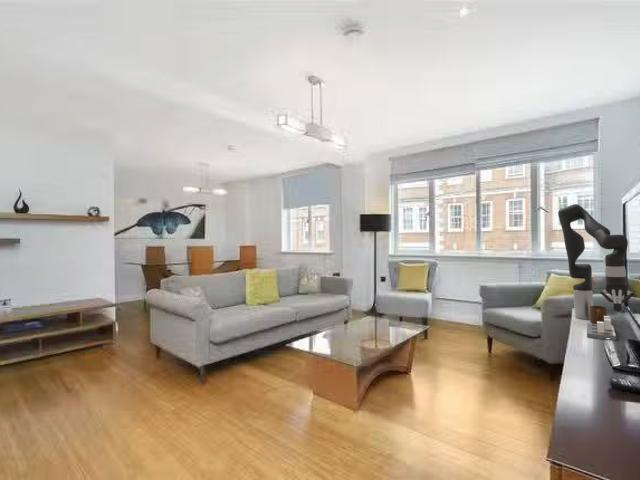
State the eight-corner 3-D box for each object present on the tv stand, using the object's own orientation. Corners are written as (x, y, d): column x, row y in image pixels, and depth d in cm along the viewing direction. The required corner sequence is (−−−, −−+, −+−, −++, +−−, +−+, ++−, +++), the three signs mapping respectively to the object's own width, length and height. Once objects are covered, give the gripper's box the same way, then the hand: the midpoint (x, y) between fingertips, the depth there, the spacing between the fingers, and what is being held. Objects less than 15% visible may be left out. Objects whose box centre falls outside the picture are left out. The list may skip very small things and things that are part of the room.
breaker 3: (604, 328, 173) (604, 318, 173) (611, 328, 172) (610, 319, 172) (605, 329, 171) (604, 320, 171) (611, 330, 169) (610, 320, 169)
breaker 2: (604, 324, 179) (603, 315, 180) (610, 325, 178) (609, 316, 178) (604, 326, 177) (603, 316, 177) (610, 326, 176) (610, 317, 176)
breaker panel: (587, 326, 186) (587, 322, 186) (613, 329, 179) (613, 325, 179) (587, 337, 167) (586, 333, 167) (616, 340, 160) (616, 335, 160)
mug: (609, 327, 183) (608, 310, 183) (591, 325, 187) (590, 309, 188) (606, 322, 193) (605, 306, 193) (590, 321, 197) (589, 305, 197)
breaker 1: (597, 331, 169) (596, 321, 169) (604, 331, 167) (603, 321, 167) (597, 332, 167) (597, 322, 167) (604, 333, 165) (603, 323, 165)
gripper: (598, 275, 164) (600, 311, 164) (634, 276, 156) (637, 313, 156) (597, 274, 170) (600, 308, 170) (633, 275, 162) (635, 310, 162)
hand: (617, 310), depth 163 cm, fingers closed
